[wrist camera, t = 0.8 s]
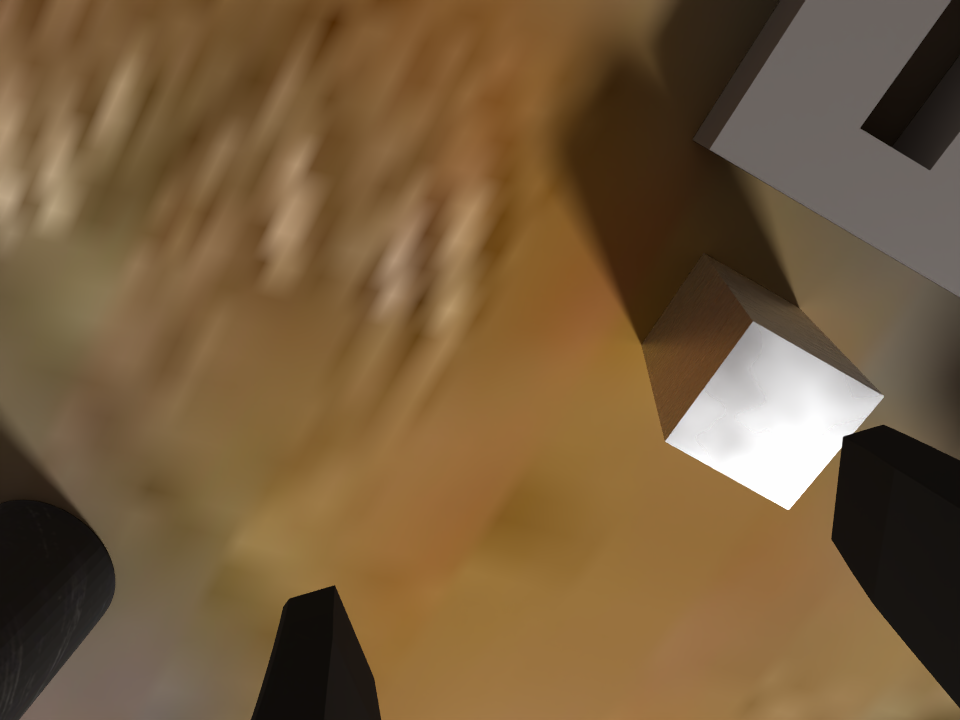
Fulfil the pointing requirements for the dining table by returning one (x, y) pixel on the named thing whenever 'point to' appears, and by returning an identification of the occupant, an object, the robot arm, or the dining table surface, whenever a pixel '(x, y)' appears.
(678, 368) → the square peg
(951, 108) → the socket block
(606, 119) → the dining table surface
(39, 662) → the travel mug
